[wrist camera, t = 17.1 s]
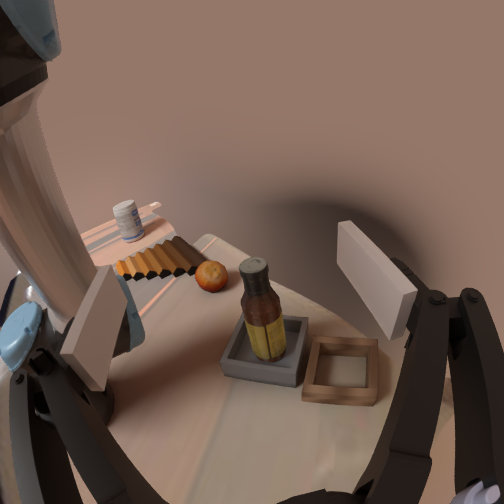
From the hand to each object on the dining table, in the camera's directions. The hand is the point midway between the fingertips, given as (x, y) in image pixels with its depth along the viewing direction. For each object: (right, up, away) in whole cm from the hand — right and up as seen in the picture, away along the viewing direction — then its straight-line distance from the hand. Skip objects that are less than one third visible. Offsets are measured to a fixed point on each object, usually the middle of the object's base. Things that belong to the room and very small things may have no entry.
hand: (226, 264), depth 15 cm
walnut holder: (+17, -21, +27) cm, 38 cm away
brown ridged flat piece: (-26, -5, +65) cm, 71 cm away
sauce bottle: (+5, -18, +34) cm, 39 cm away
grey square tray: (+4, -19, +34) cm, 39 cm away
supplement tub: (-46, +6, +89) cm, 100 cm away
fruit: (-8, -9, +55) cm, 56 cm away
